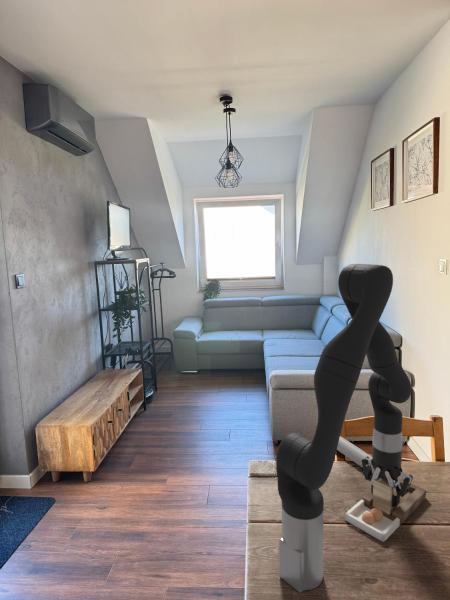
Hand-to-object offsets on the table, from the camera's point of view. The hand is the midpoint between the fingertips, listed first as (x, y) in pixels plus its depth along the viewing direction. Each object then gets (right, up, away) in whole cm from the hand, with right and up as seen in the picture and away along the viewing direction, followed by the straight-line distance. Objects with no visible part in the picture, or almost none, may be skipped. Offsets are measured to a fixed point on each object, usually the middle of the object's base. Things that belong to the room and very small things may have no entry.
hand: (385, 500), depth 112 cm
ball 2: (-5, -3, -4) cm, 7 cm away
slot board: (+4, -2, +4) cm, 6 cm away
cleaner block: (0, -2, 0) cm, 2 cm away
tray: (-5, -4, -4) cm, 8 cm away
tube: (0, +1, +25) cm, 25 cm away
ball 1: (-7, -4, -6) cm, 10 cm away
